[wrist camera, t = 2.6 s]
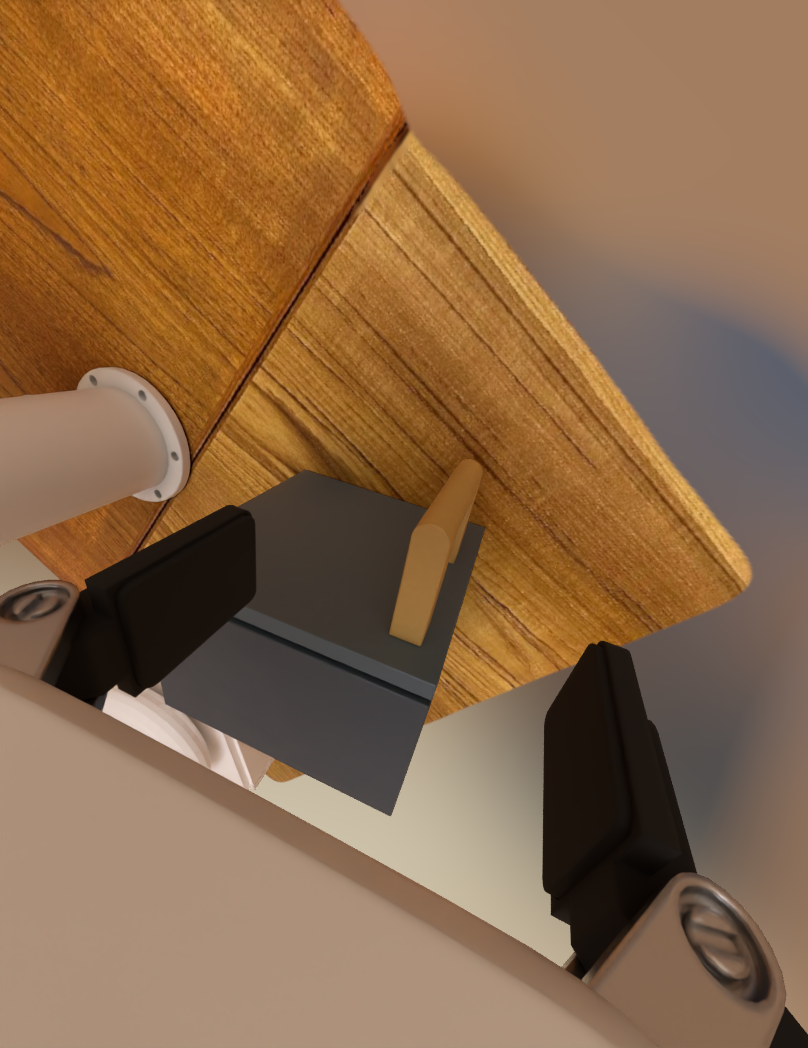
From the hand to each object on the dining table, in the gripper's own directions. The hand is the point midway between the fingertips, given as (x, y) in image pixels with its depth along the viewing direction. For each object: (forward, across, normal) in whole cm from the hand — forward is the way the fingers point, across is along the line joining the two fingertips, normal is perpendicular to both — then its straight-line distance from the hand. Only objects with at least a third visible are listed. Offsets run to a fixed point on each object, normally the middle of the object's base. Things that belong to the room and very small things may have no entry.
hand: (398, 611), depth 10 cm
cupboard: (+19, +6, +12) cm, 23 cm away
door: (+18, +6, +4) cm, 20 cm away
